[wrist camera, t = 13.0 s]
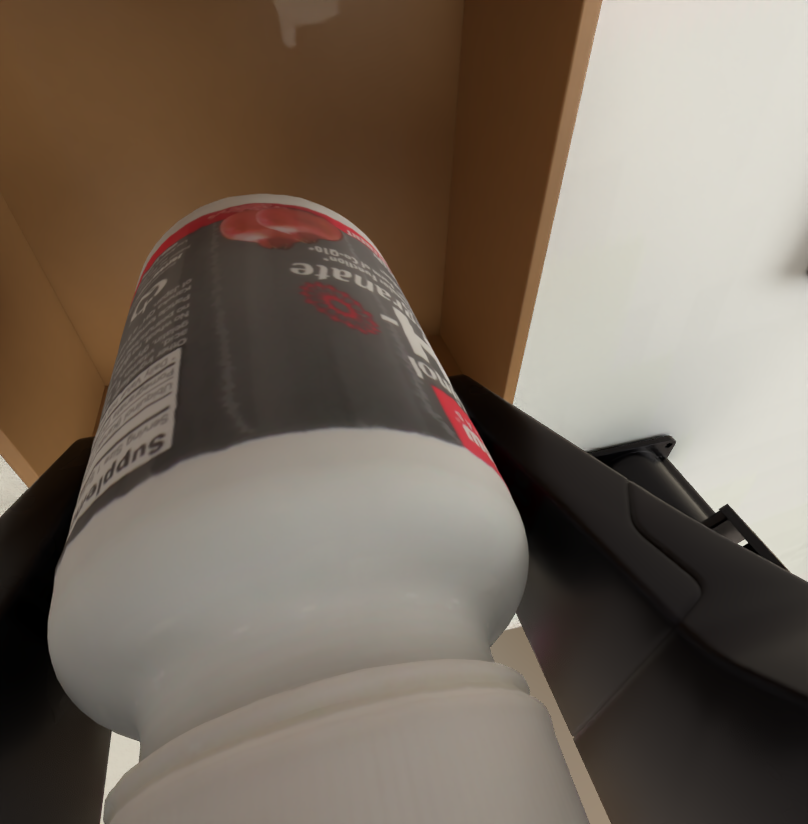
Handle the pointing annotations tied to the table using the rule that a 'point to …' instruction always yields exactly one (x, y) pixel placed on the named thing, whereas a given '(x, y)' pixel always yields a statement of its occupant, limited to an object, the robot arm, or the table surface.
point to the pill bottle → (296, 550)
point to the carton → (272, 166)
